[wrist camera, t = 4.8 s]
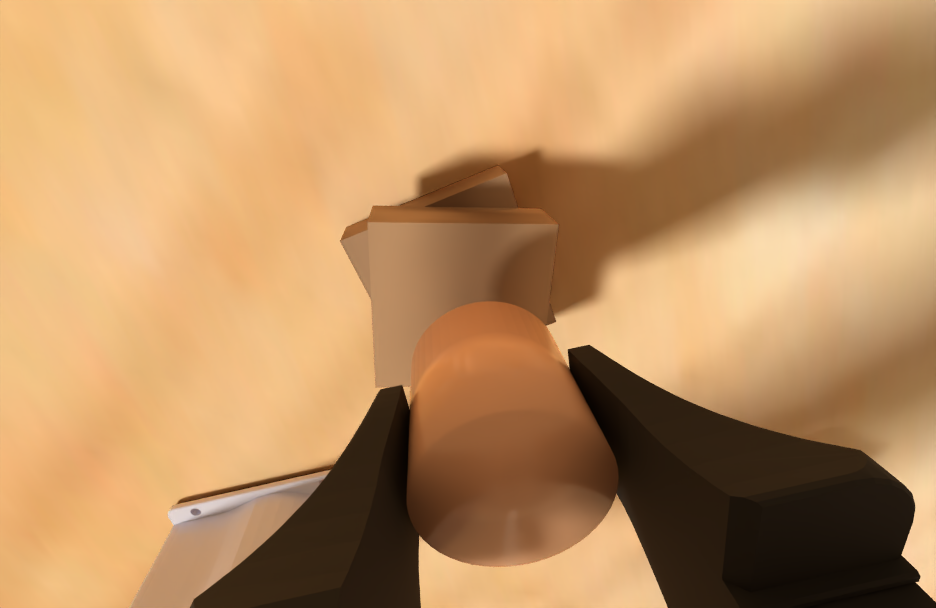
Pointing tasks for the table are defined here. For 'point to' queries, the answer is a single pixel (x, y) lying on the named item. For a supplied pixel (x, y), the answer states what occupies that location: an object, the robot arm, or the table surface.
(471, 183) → the slab bottom
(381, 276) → the slab top
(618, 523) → the table surface
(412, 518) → the cylinder
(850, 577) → the robot arm
